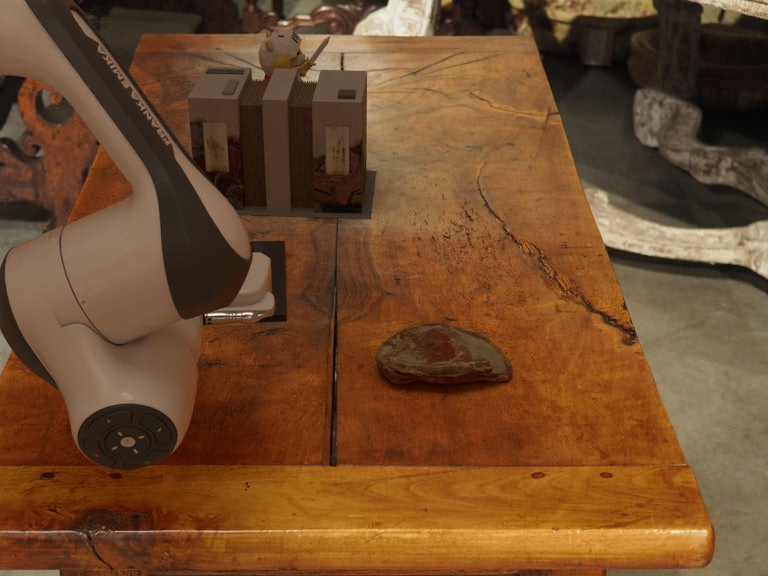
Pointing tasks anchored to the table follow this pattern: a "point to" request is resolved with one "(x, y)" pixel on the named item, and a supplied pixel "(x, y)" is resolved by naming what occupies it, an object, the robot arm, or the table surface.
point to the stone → (441, 356)
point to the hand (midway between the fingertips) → (164, 246)
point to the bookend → (284, 141)
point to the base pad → (275, 275)
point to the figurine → (286, 53)
